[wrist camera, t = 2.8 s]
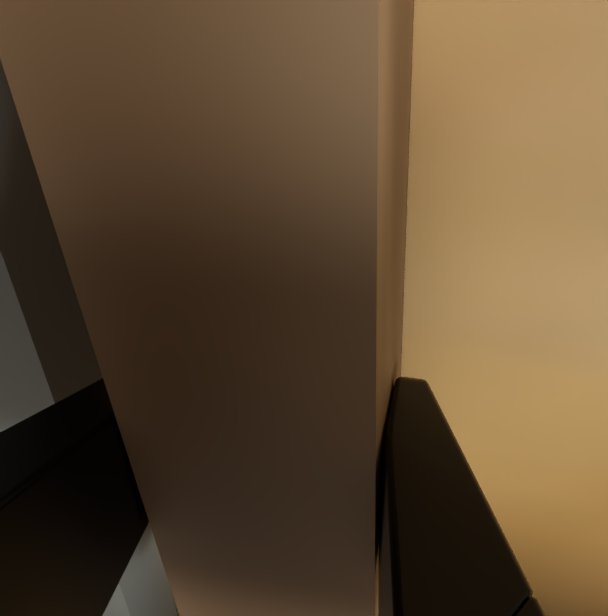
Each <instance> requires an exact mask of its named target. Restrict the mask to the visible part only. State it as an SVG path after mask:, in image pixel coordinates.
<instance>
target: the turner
mask: <svg viewBox="0 0 608 616" xmlns="http://www.w3.org/2000/svg"><path fill="white" fill-rule="evenodd" d="M413 19H414V0H0V59H1V62H2V65H3V69H4V72H5V75H6V78H7V81H8V84H9V87H10V90H11V93H12V97H13V100H14V103H15V106H16V109H17V112H18V115H19V118H20V121H21V125H22V128H23V131H24V134H25V137H26V140H27V143H28V146H29V149H30V153H31V156H32V159H33V162H34V165H35V168H36V171H37V174H38V177H39V181H40V184H41V187H42V190H43V193H44V196H45V199H46V202H47V205H48V209H49V212H50V215H51V218H52V221H53V224H54V227H55V230H56V233H57V237H58V240H59V243H60V246H61V249H62V252H63V255H64V258H65V261H66V265H67V268H68V271H69V274H70V277H71V280H72V283H73V286H74V289H75V293H76V296H77V299H78V302H79V305H80V308H81V311H82V314H83V317H84V321H85V324H86V327H87V330H88V333H89V336H90V339H91V342H92V345H93V349H94V352H95V355H96V358H97V361H98V364H99V367H100V370H101V373H102V377H103V380H104V383H105V386H106V389H107V392H108V395H109V398H110V401H111V405H112V408H113V411H114V414H115V417H116V420H117V423H118V426H119V429H120V433H121V436H122V439H123V442H124V445H125V448H126V451H127V454H128V457H129V461H130V464H131V467H132V470H133V473H134V476H135V479H136V482H137V485H138V489H139V492H140V495H141V498H142V501H143V504H144V507H145V510H146V513H147V517H148V520H149V523H150V526H151V529H152V532H153V535H154V538H155V541H156V545H157V548H158V551H159V554H160V557H161V560H162V563H163V566H164V569H165V573H166V576H167V579H168V582H169V585H170V588H171V591H172V594H173V597H174V601H175V604H176V607H177V610H178V613H179V616H378V553H379V530H380V512H381V496H382V479H383V463H384V446H385V434H386V427H387V422H388V416H389V411H390V406H391V400H392V395H393V390H394V384H395V380H396V379H397V378H398V377H401V354H402V326H403V298H404V270H405V242H406V214H407V186H408V158H409V130H410V103H411V75H412V47H413Z"/></svg>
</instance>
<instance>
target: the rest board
mask: <svg viewBox="0 0 608 616" xmlns="http://www.w3.org/2000/svg"><path fill="white" fill-rule="evenodd" d="M102 378H103V377H102V373H101V370H100V367H99V364H98V361H97V358H96V355H95V352H94V349H93V345H92V342H91V339H90V336H89V333H88V330H87V327H86V324H85V321H84V317H83V314H82V311H81V308H80V305H79V302H78V299H77V296H76V293H75V289H74V286H73V283H72V280H71V277H70V274H69V271H68V268H67V265H66V261H65V258H64V255H63V252H62V249H61V246H60V243H59V240H58V237H57V233H56V230H55V227H54V224H53V221H52V218H51V215H50V212H49V209H48V205H47V202H46V199H45V196H44V193H43V190H42V187H41V184H40V181H39V177H38V174H37V171H36V168H35V165H34V162H33V159H32V156H31V153H30V149H29V146H28V143H27V140H26V137H25V134H24V131H23V128H22V125H21V121H20V118H19V115H18V112H17V109H16V106H15V103H14V100H13V97H12V93H11V90H10V87H9V84H8V81H7V78H6V75H5V72H4V69H3V65H2V62H1V59H0V432H2V431H3V430H5V429H7V428H9V427H11V426H13V425H15V424H17V423H19V422H20V421H22V420H24V419H26V418H28V417H30V416H32V415H34V414H36V413H37V412H39V411H41V410H43V409H45V408H47V407H49V406H51V405H53V404H55V403H56V402H58V401H60V400H62V399H64V398H66V397H68V396H70V395H72V394H73V393H75V392H77V391H79V390H81V389H83V388H85V387H87V386H89V385H90V384H92V383H94V382H96V381H98V380H100V379H102ZM103 616H178V614H177V610H176V606H175V603H174V599H173V596H172V592H171V588H170V585H169V582H168V579H167V576H166V573H165V569H164V566H163V563H162V560H161V557H160V554H159V551H158V548H157V545H156V541H155V538H154V535H153V532H152V529H151V526H150V523H149V524H148V526H147V528H146V530H145V532H144V534H143V536H142V538H141V540H140V542H139V544H138V546H137V548H136V550H135V552H134V554H133V556H132V558H131V560H130V562H129V564H128V566H127V568H126V570H125V572H124V574H123V576H122V578H121V580H120V582H119V584H118V586H117V588H116V590H115V592H114V594H113V596H112V598H111V600H110V602H109V604H108V606H107V608H106V610H105V612H104V614H103Z"/></svg>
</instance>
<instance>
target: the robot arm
mask: <svg viewBox="0 0 608 616" xmlns="http://www.w3.org/2000/svg"><path fill="white" fill-rule="evenodd" d="M148 524H149V520H148V517H147V513H146V510H145V507H144V504H143V501H142V498H141V495H140V492H139V489H138V485H137V482H136V479H135V476H134V473H133V470H132V467H131V464H130V461H129V457H128V454H127V451H126V448H125V445H124V442H123V439H122V436H121V433H120V429H119V426H118V423H117V420H116V417H115V414H114V411H113V408H112V405H111V401H110V398H109V395H108V392H107V389H106V386H105V383H104V380H103V378H102V379H100V380H98V381H96V382H94V383H92V384H90V385H89V386H87V387H85V388H83V389H81V390H79V391H77V392H75V393H73V394H72V395H70V396H68V397H66V398H64V399H62V400H60V401H58V402H56V403H55V404H53V405H51V406H49V407H47V408H45V409H43V410H41V411H39V412H37V413H36V414H34V415H32V416H30V417H28V418H26V419H24V420H22V421H20V422H19V423H17V424H15V425H13V426H11V427H9V428H7V429H5V430H3V431H2V432H0V616H103V614H104V612H105V610H106V608H107V606H108V604H109V602H110V600H111V598H112V596H113V594H114V592H115V590H116V588H117V586H118V584H119V582H120V580H121V578H122V576H123V574H124V572H125V570H126V568H127V566H128V564H129V562H130V560H131V558H132V556H133V554H134V552H135V550H136V548H137V546H138V544H139V542H140V540H141V538H142V536H143V534H144V532H145V530H146V528H147V526H148ZM532 594H533V591H532V589H531V587H530V585H529V583H528V581H527V579H526V577H525V575H524V573H523V571H522V569H521V567H520V565H519V563H518V561H517V559H516V557H515V555H514V553H513V551H512V549H511V547H510V545H509V543H508V541H507V539H506V537H505V535H504V533H503V531H502V529H501V527H500V525H499V523H498V521H497V519H496V517H495V515H494V513H493V511H492V509H491V507H490V505H489V503H488V501H487V500H486V498H485V496H484V494H483V492H482V490H481V488H480V486H479V484H478V482H477V480H476V478H475V476H474V474H473V472H472V470H471V468H470V466H469V464H468V462H467V460H466V458H465V456H464V454H463V452H462V450H461V448H460V446H459V444H458V442H457V440H456V438H455V436H454V434H453V432H452V430H451V428H450V426H449V424H448V422H447V420H446V418H445V416H444V414H443V412H442V410H441V408H440V406H439V404H438V402H437V400H436V398H435V396H434V394H433V392H432V390H431V388H430V386H429V384H428V383H427V381H425V380H423V379H417V378H409V377H398V378H397V379H396V380H395V384H394V390H393V395H392V400H391V406H390V411H389V416H388V422H387V427H386V434H385V446H384V463H383V479H382V496H381V512H380V530H379V553H378V616H545V614H544V612H543V610H542V608H541V606H540V604H539V602H538V600H537V599H536V598H534V597H532Z"/></svg>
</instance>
